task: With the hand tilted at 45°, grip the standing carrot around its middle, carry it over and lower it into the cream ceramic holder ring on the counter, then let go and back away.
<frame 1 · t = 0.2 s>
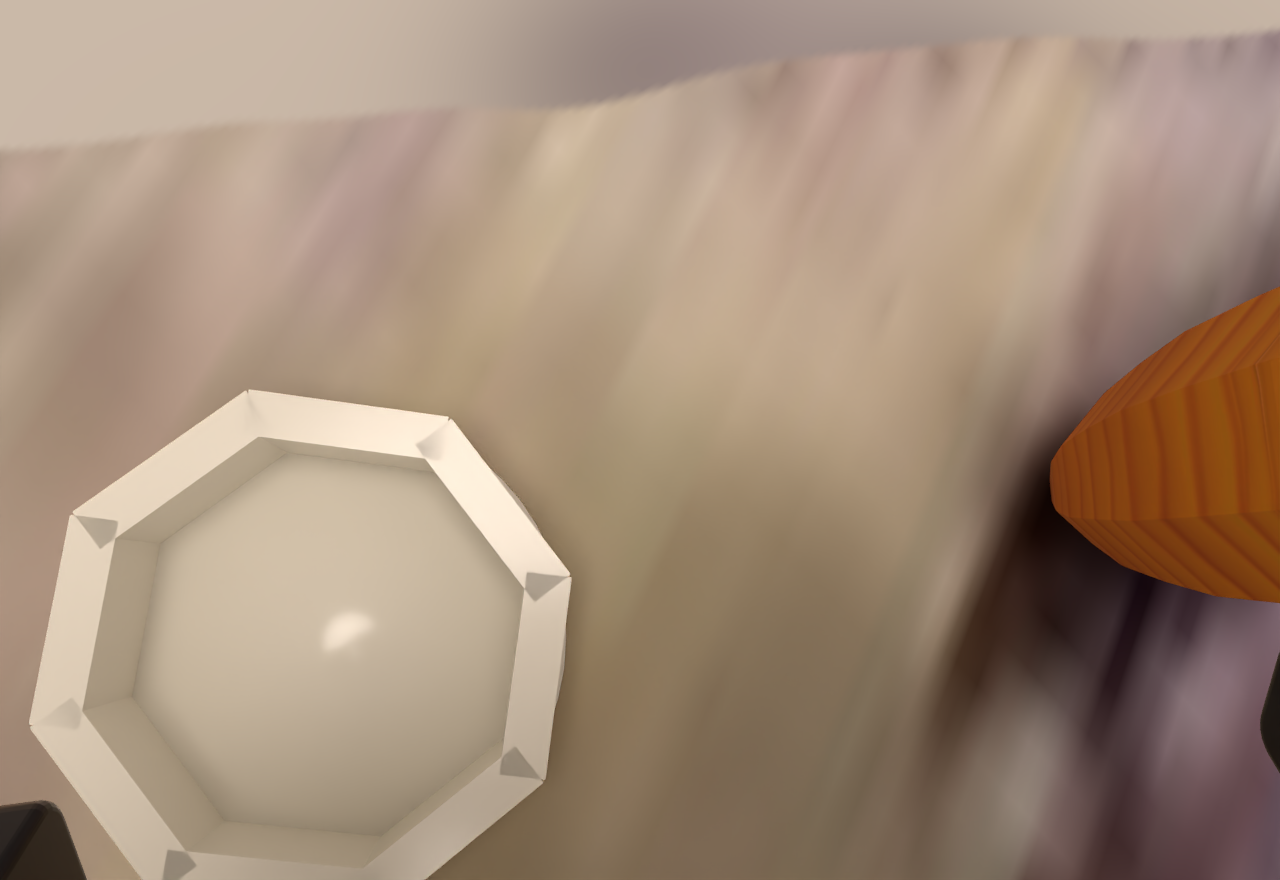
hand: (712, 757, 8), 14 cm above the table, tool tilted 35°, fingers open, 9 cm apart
carrot: (1060, 491, 24), on the table
holder: (338, 639, 22), on the table
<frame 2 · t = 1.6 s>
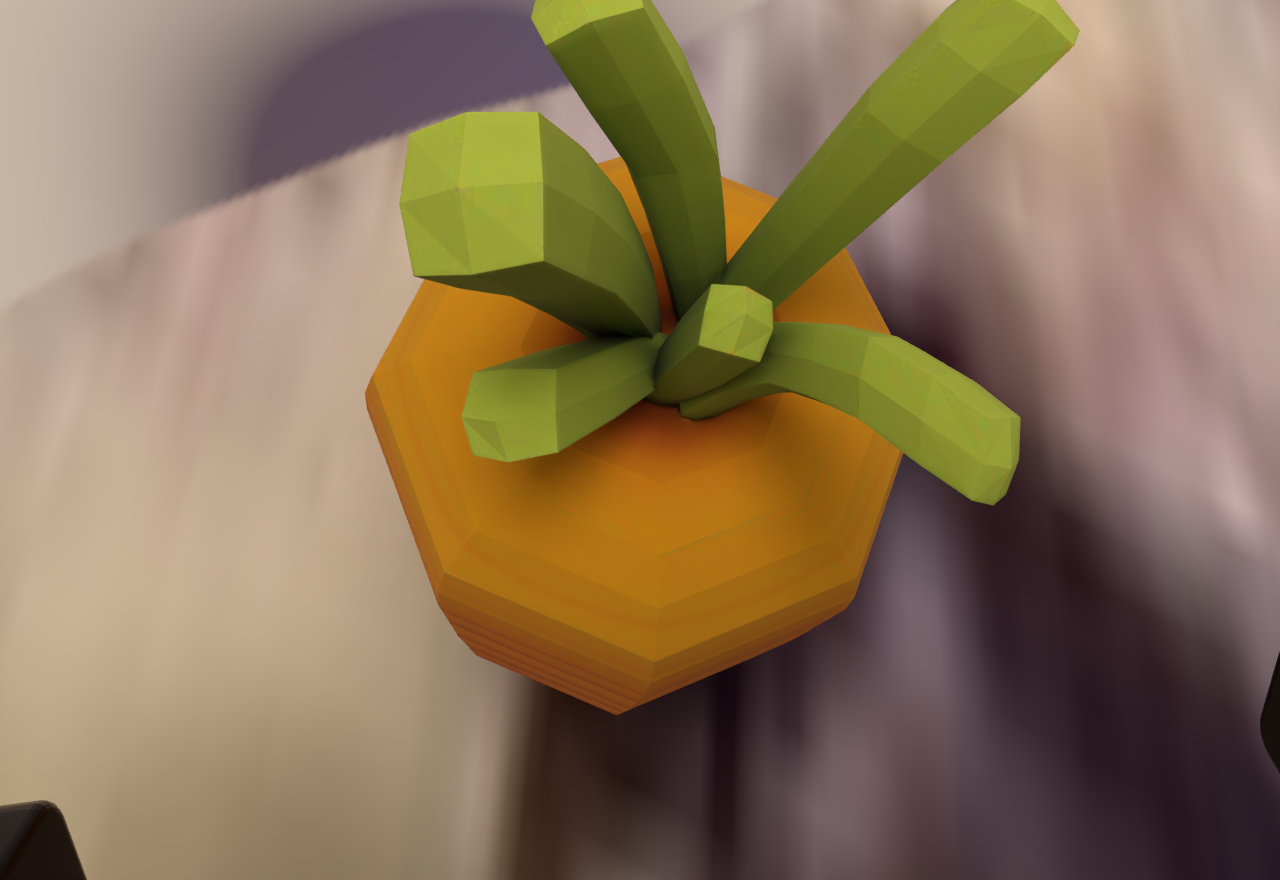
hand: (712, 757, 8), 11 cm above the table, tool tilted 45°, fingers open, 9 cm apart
carrot: (593, 613, 19), on the table
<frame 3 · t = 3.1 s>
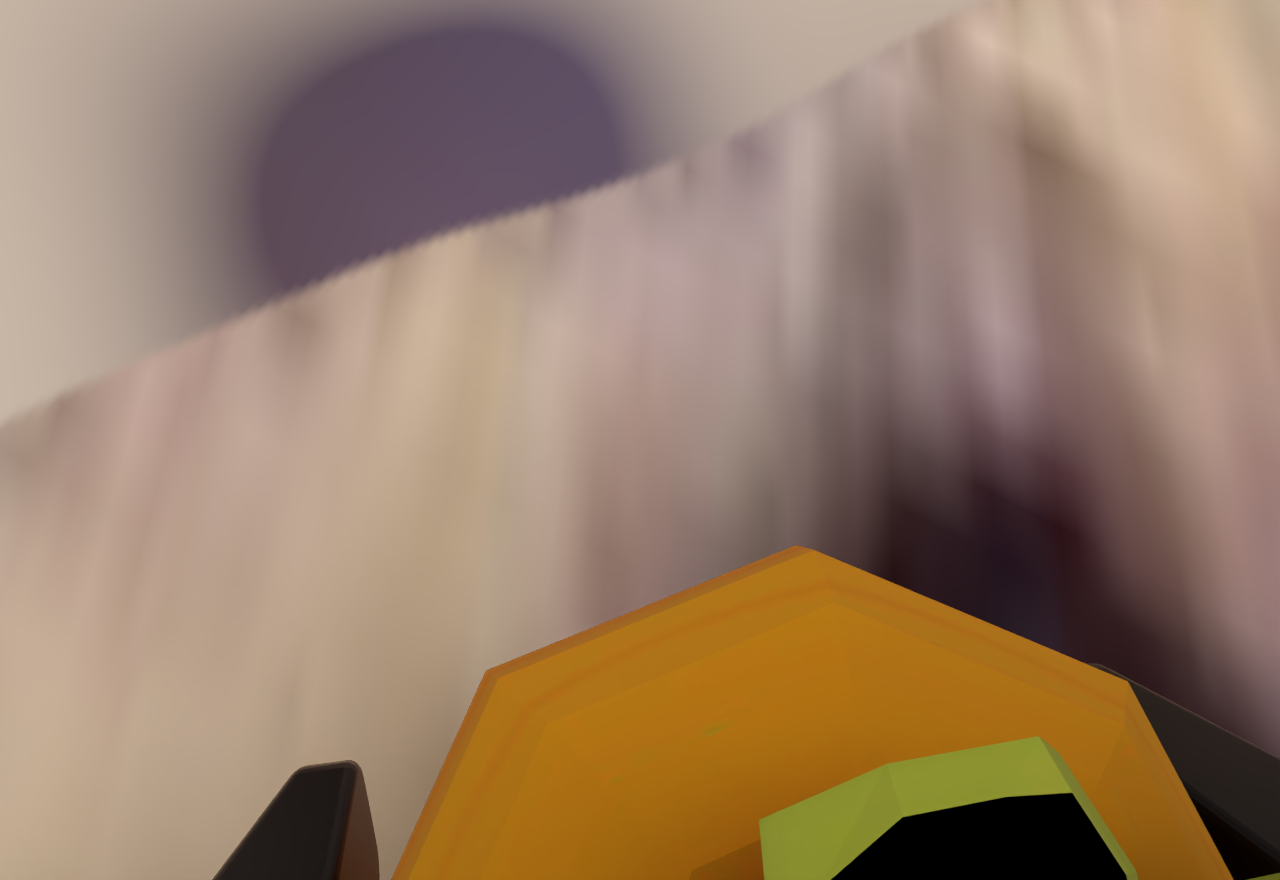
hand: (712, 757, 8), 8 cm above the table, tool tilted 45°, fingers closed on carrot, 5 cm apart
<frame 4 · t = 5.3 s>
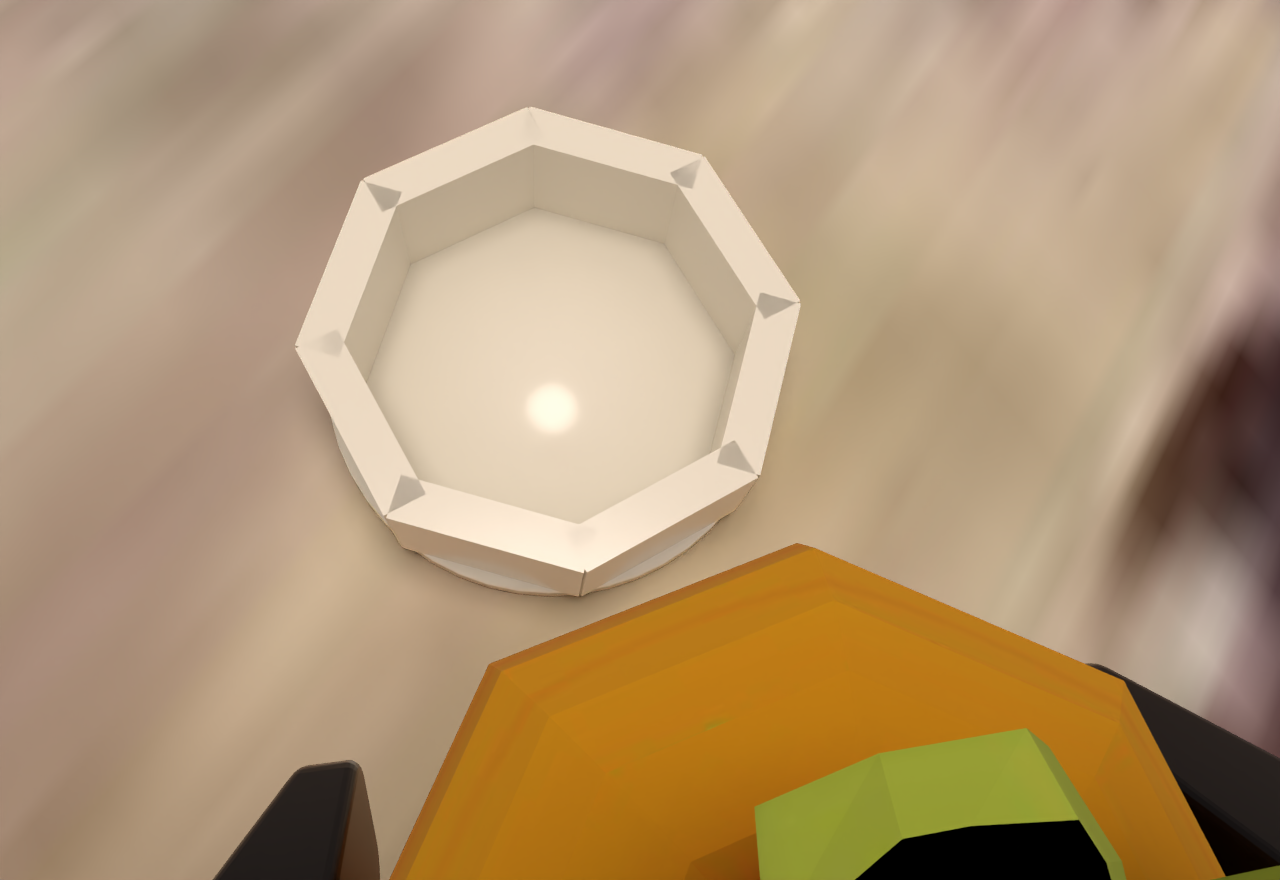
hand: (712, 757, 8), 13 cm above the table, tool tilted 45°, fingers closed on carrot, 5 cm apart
carrot: (638, 879, 15), point 5 cm above the table, touching gripper
holder: (553, 382, 23), on the table
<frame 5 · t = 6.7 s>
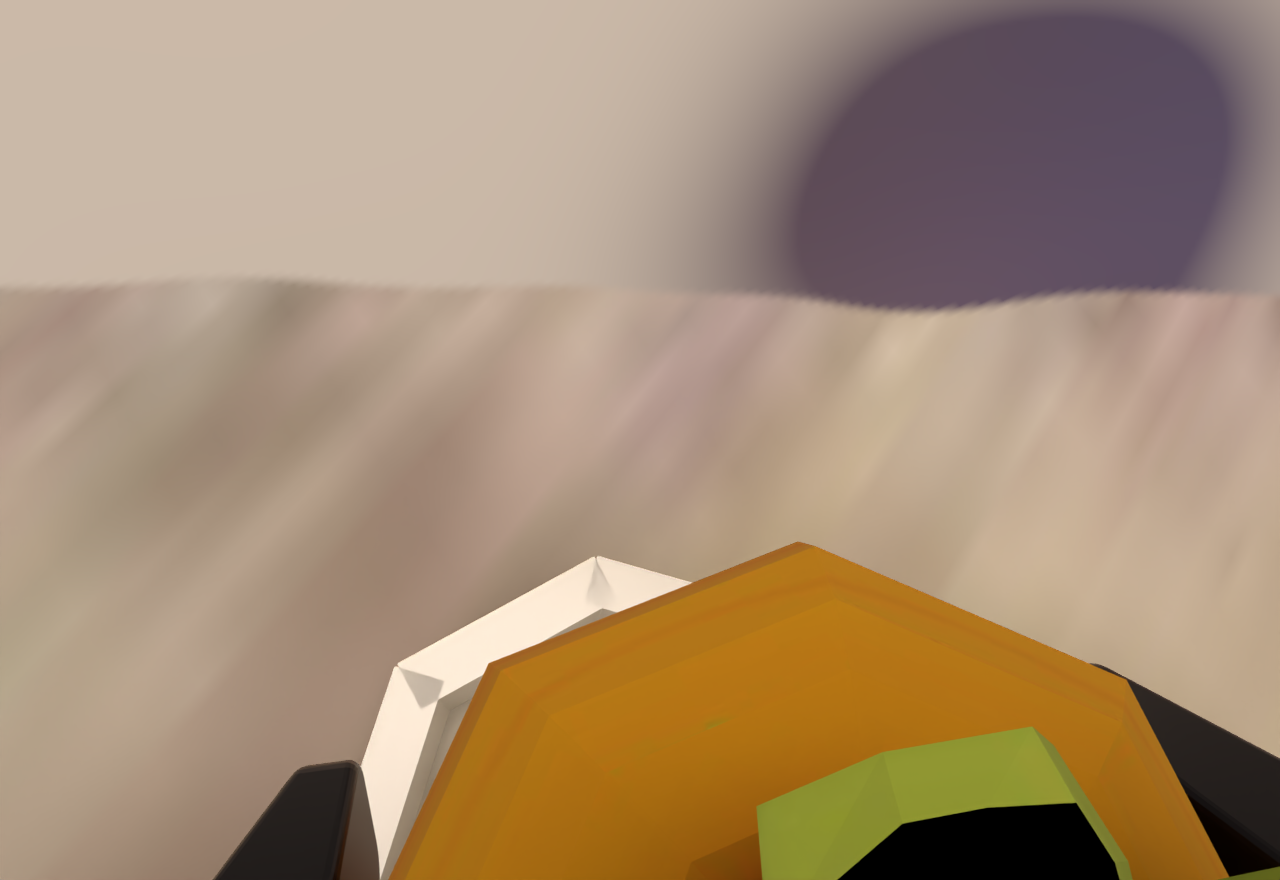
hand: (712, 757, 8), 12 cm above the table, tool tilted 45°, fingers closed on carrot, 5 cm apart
carrot: (638, 879, 15), point 4 cm above the table, touching gripper
holder: (618, 849, 19), on the table
when the fingers open (9 cm above the table, at t = 7.6 s): carrot stays where it is, resting on holder.
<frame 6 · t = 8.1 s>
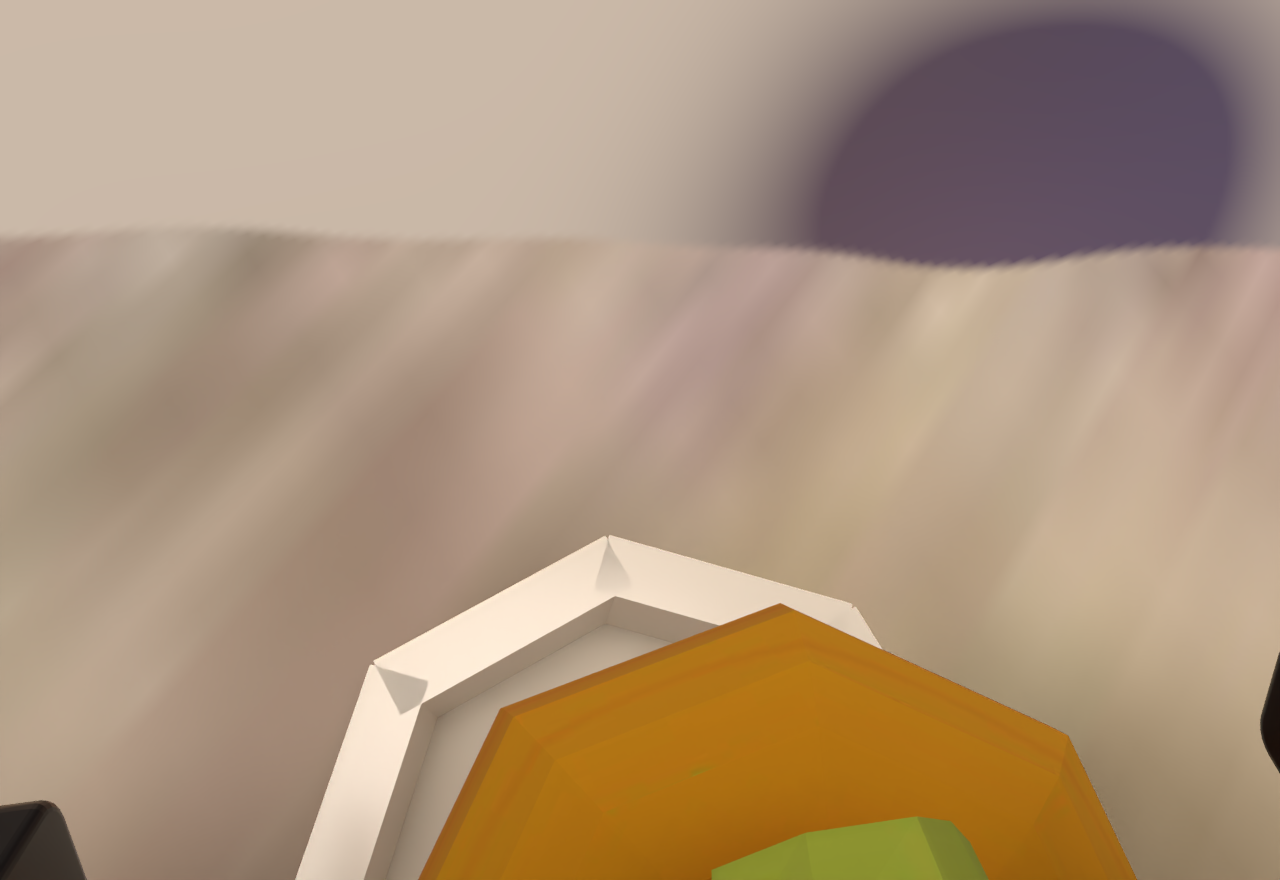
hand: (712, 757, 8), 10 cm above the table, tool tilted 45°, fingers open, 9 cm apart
holder: (632, 878, 17), on the table
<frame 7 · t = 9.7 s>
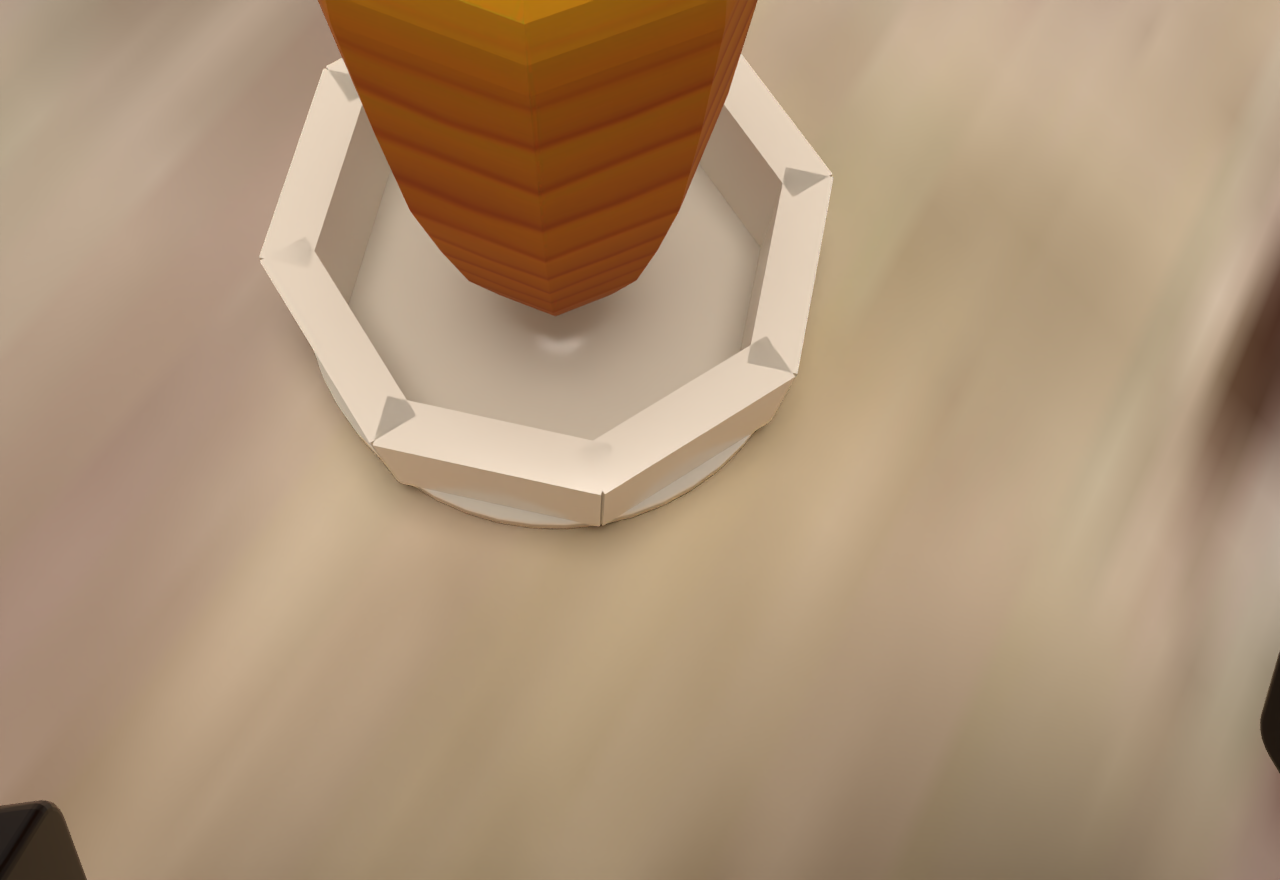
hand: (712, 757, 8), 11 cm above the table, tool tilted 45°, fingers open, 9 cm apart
carrot: (558, 292, 20), resting on holder
holder: (558, 291, 20), on the table
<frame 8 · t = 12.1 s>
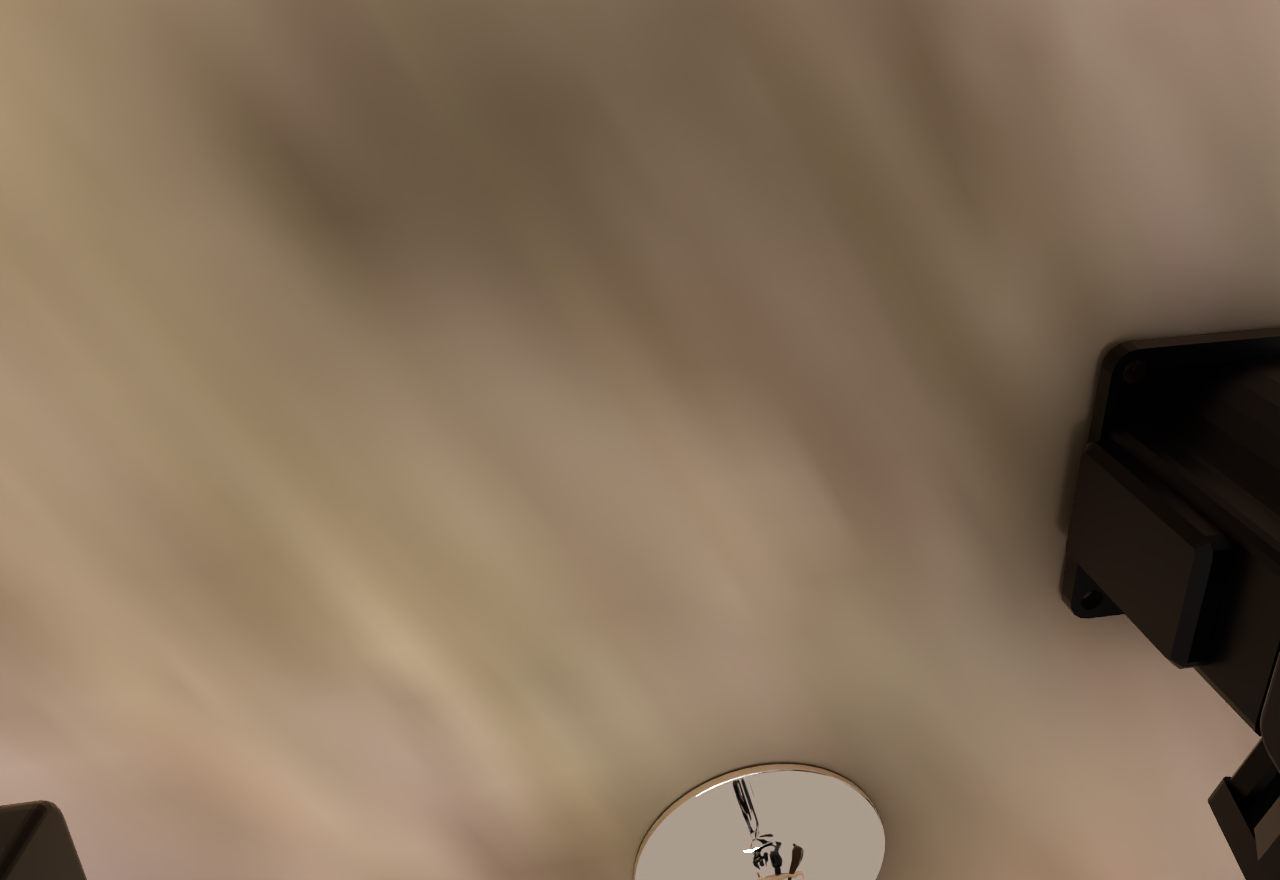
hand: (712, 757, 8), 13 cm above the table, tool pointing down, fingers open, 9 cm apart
wineglass: (758, 853, 27), on the table
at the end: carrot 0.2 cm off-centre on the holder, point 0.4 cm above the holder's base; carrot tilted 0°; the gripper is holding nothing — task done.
